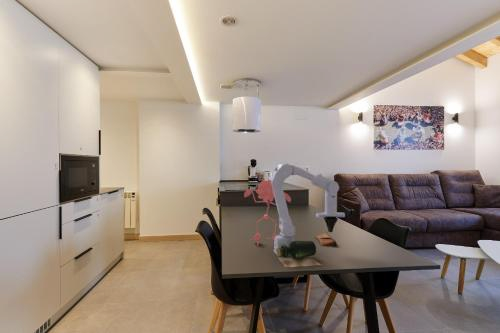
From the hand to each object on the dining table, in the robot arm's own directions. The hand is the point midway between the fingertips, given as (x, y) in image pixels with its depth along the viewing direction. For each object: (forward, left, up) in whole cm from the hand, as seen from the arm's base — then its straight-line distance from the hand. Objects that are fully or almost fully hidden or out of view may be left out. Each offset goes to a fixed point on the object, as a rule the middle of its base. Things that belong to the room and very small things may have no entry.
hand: (330, 231), depth 131 cm
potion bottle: (-11, -5, -6) cm, 14 cm away
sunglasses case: (+6, +17, -11) cm, 21 cm away
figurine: (-27, +21, -11) cm, 36 cm away
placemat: (-20, -9, -10) cm, 24 cm away
